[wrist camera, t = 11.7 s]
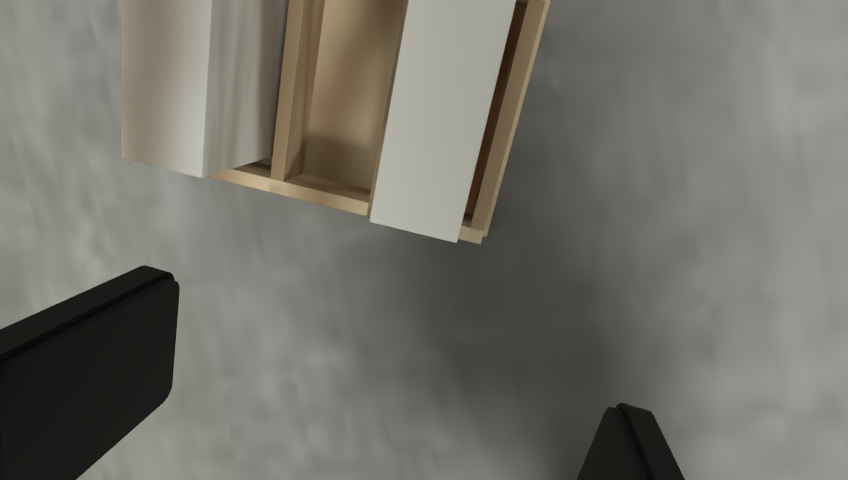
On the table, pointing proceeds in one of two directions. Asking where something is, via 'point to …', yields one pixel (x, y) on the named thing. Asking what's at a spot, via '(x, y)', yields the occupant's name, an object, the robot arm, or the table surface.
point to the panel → (439, 113)
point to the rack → (293, 95)
